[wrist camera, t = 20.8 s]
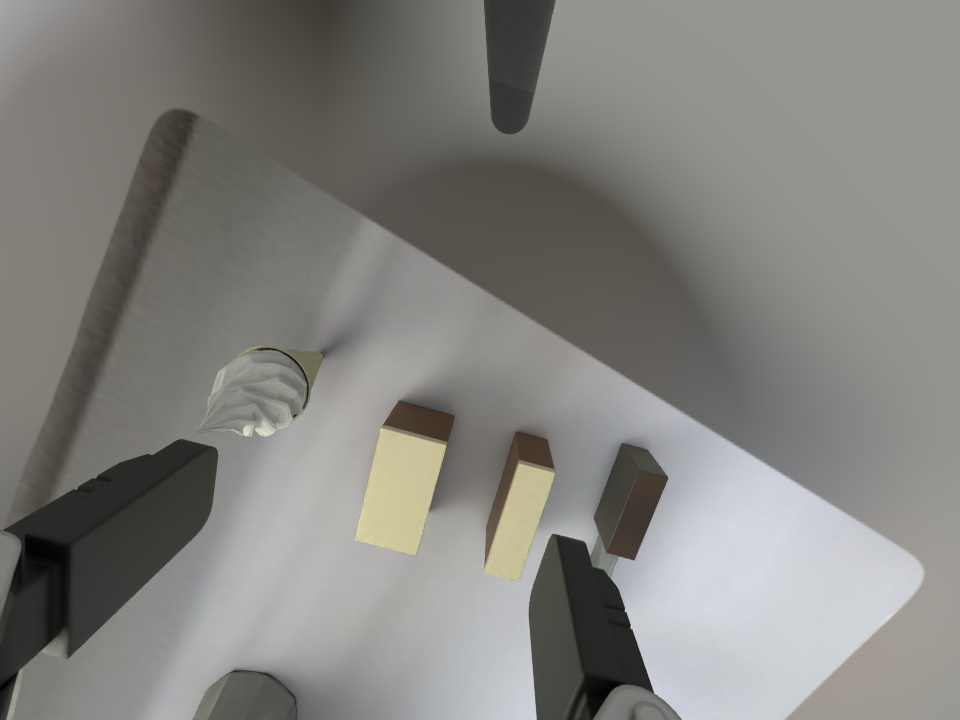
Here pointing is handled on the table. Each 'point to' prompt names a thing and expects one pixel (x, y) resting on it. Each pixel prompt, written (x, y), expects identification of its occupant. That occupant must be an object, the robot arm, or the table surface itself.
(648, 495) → the knife
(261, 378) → the ice cream cone
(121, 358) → the table surface
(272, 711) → the coffeepot
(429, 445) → the cake
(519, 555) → the cake slice
